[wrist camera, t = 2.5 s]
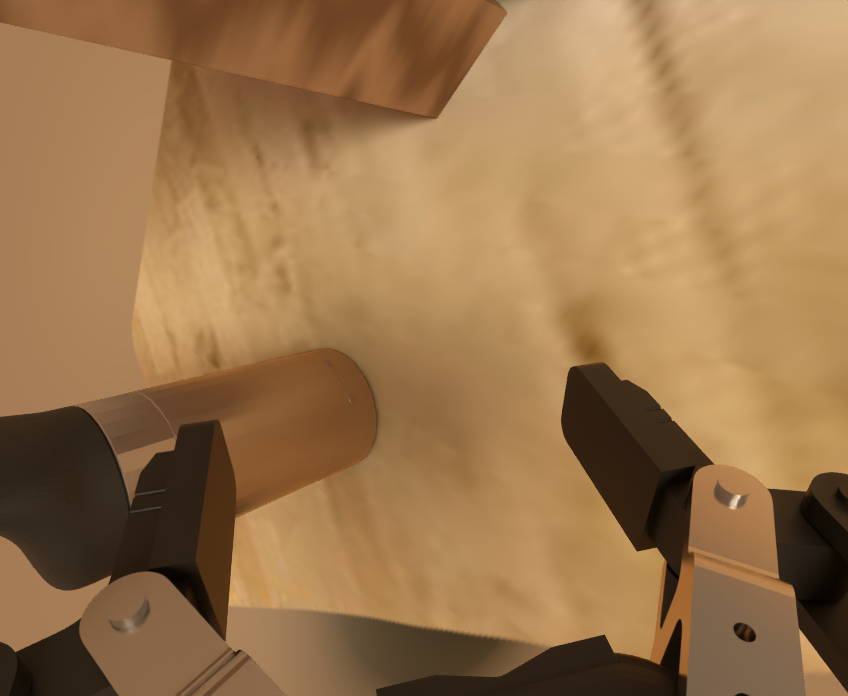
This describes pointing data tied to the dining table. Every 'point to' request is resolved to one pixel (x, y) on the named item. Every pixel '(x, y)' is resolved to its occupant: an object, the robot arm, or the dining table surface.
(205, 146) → the dining table surface
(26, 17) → the stand tall
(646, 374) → the dining table surface
